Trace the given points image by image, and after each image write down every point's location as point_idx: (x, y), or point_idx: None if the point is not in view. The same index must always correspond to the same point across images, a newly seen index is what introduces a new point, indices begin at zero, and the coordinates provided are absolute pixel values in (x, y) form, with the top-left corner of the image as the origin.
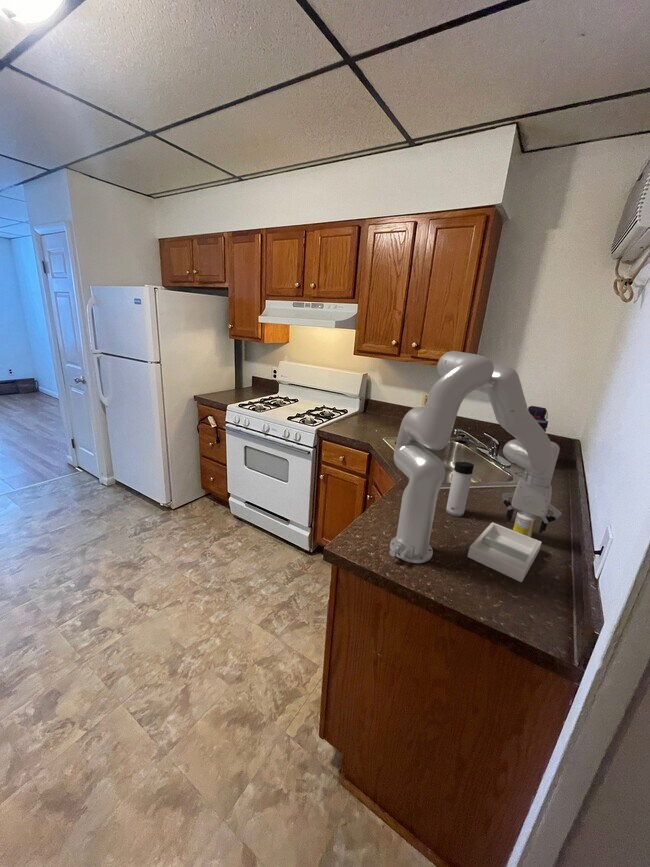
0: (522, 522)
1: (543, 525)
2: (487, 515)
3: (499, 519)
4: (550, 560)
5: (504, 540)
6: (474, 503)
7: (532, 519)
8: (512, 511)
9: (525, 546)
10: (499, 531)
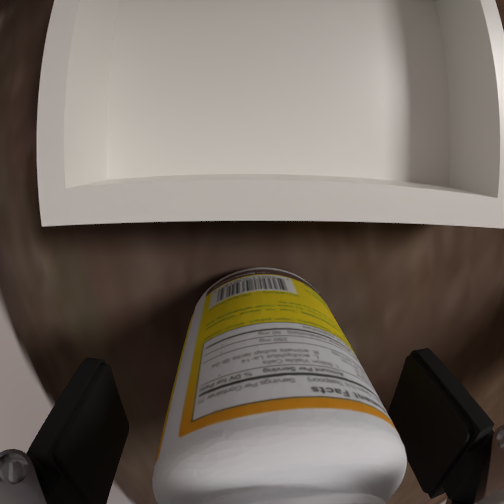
0: (296, 368)
1: (50, 430)
2: (462, 382)
3: None
4: (21, 156)
5: (351, 122)
6: (494, 415)
7: (170, 474)
8: (443, 455)
9: (180, 166)
10: (426, 185)
